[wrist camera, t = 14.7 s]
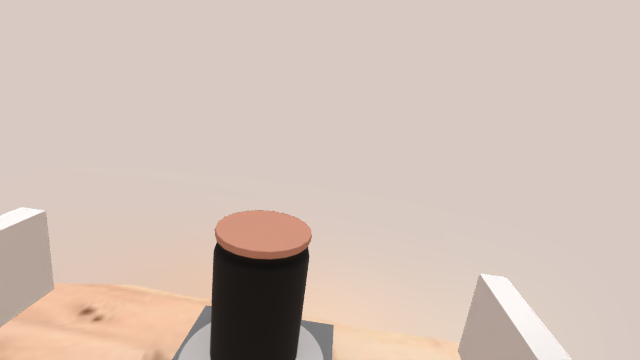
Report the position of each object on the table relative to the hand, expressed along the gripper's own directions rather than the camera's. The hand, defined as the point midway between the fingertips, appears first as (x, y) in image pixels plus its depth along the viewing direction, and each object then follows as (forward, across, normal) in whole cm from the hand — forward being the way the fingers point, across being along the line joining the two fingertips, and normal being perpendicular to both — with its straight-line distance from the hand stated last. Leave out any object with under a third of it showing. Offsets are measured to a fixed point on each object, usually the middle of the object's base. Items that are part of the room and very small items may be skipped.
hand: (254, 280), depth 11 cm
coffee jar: (+27, -5, -29) cm, 40 cm away
